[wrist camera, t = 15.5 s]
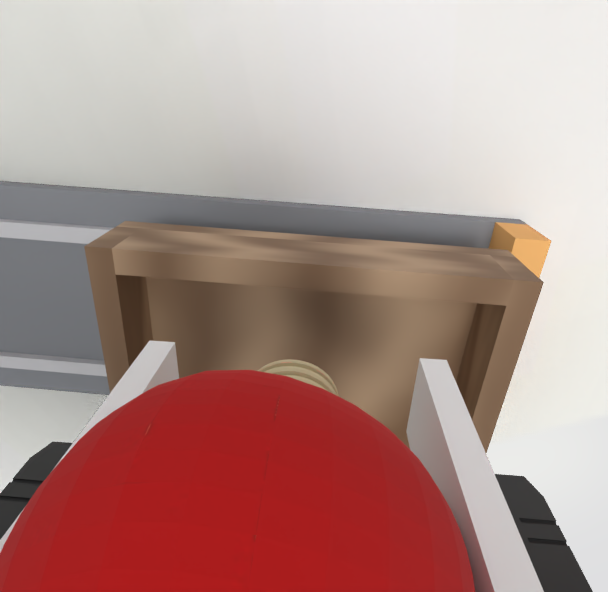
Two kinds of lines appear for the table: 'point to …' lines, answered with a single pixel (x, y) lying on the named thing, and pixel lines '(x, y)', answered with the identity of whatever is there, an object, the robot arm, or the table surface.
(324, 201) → the table surface
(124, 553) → the light bulb
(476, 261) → the tray
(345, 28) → the table surface
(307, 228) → the track
